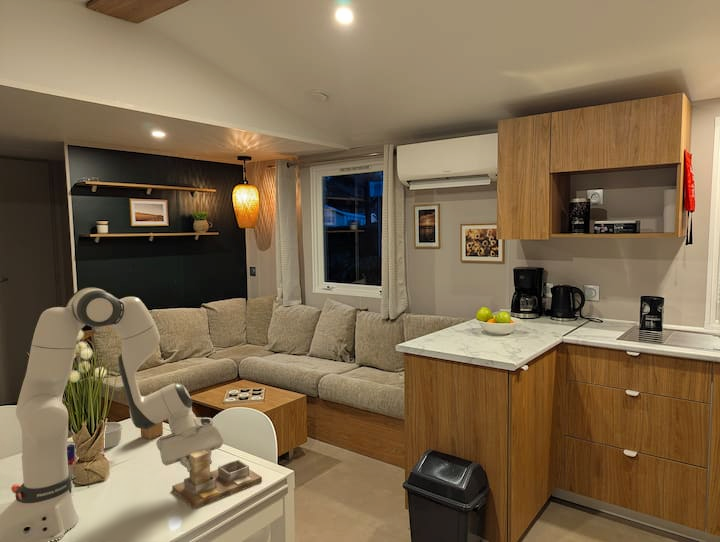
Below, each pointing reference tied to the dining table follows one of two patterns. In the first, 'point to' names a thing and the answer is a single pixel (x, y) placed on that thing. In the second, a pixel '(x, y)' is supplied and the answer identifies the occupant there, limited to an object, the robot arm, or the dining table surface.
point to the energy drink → (71, 457)
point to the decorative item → (152, 428)
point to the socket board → (217, 484)
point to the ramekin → (112, 434)
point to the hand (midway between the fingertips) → (200, 467)
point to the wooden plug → (199, 467)
